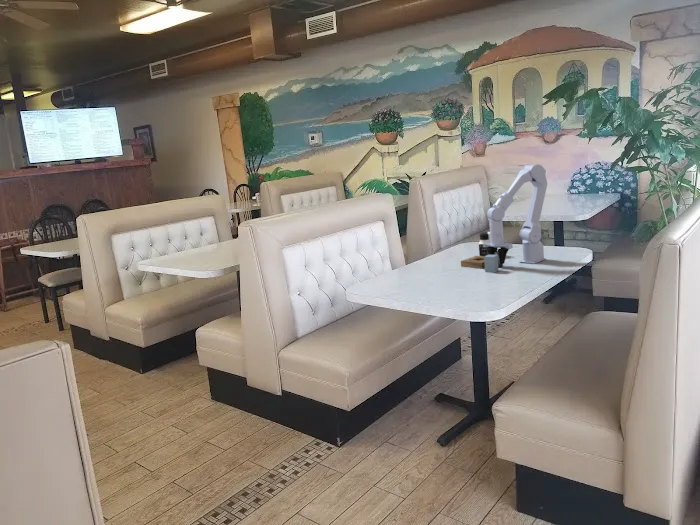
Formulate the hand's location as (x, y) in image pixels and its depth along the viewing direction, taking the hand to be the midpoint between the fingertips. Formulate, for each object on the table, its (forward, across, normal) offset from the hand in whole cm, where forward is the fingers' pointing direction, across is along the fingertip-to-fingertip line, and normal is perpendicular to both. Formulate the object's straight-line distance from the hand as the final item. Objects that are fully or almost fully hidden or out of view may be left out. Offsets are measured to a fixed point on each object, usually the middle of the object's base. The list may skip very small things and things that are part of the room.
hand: (498, 263), depth 256 cm
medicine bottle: (+2, -19, +17) cm, 26 cm away
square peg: (+2, +2, -8) cm, 8 cm away
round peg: (+2, 0, 0) cm, 2 cm away
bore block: (+2, -11, 0) cm, 11 cm away
